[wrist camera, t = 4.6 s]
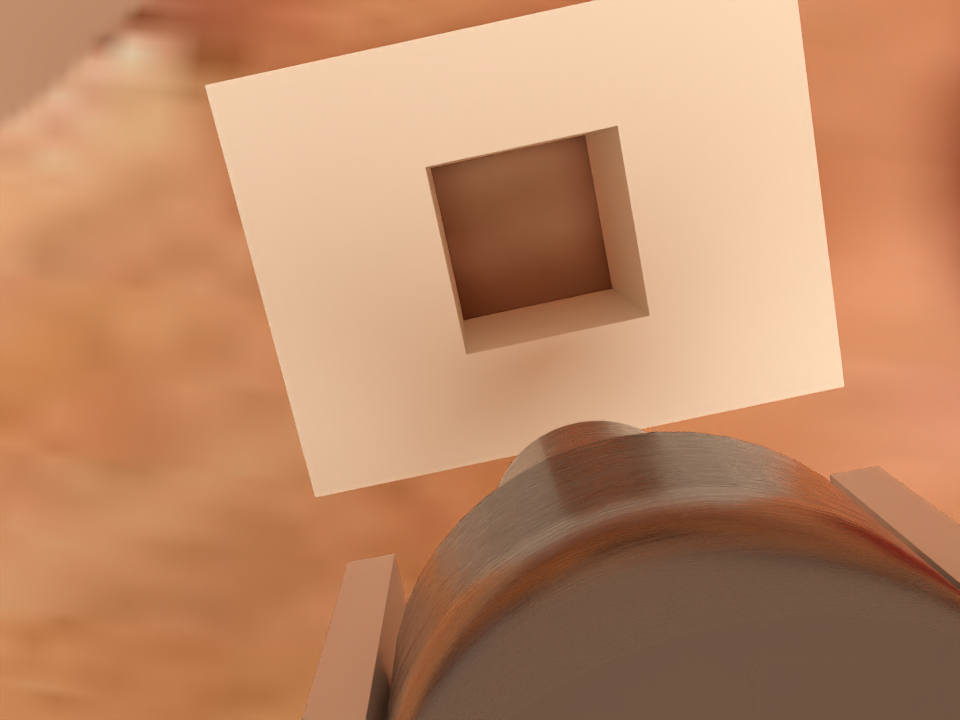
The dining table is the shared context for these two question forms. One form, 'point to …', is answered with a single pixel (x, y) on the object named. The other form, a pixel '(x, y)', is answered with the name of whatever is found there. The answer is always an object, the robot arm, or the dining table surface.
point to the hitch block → (622, 210)
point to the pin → (673, 594)
